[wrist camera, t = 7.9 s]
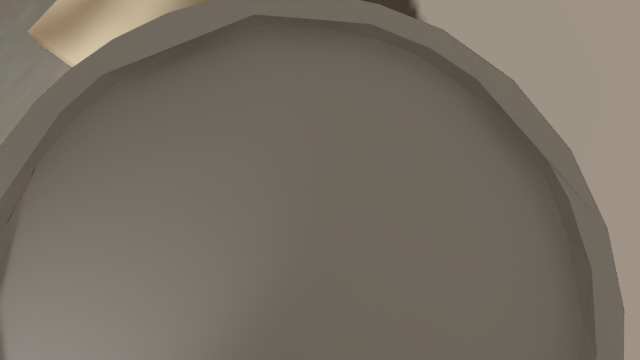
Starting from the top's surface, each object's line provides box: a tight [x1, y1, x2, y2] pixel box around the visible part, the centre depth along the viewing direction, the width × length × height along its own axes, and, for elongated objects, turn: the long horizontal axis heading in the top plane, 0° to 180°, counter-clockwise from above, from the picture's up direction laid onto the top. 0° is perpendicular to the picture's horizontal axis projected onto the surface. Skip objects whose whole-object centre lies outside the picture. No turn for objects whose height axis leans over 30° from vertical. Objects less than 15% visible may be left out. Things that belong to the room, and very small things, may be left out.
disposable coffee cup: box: [0, 0, 624, 360], centre depth 12 cm, size 10×10×12 cm
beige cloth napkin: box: [27, 0, 212, 67], centre depth 32 cm, size 16×16×2 cm
